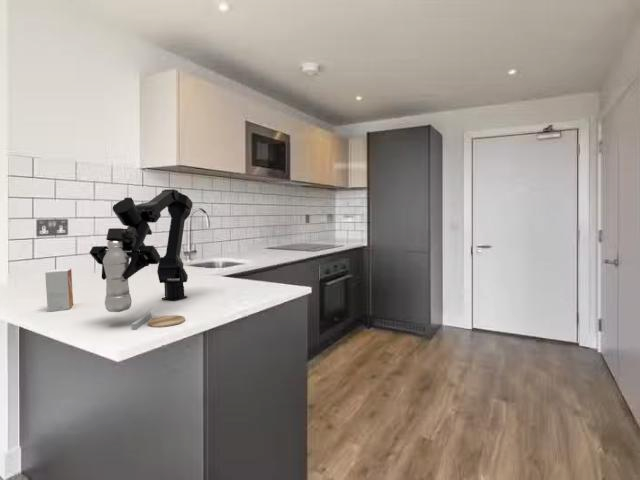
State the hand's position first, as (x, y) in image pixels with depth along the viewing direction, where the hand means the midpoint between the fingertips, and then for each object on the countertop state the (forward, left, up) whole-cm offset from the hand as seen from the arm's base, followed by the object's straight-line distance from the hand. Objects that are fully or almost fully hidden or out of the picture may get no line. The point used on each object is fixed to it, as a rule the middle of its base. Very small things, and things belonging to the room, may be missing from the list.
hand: (113, 278), depth 104 cm
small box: (-38, +8, -13) cm, 41 cm away
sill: (+5, +5, -13) cm, 15 cm away
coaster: (+11, +8, -13) cm, 19 cm away
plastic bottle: (0, +1, -10) cm, 10 cm away
